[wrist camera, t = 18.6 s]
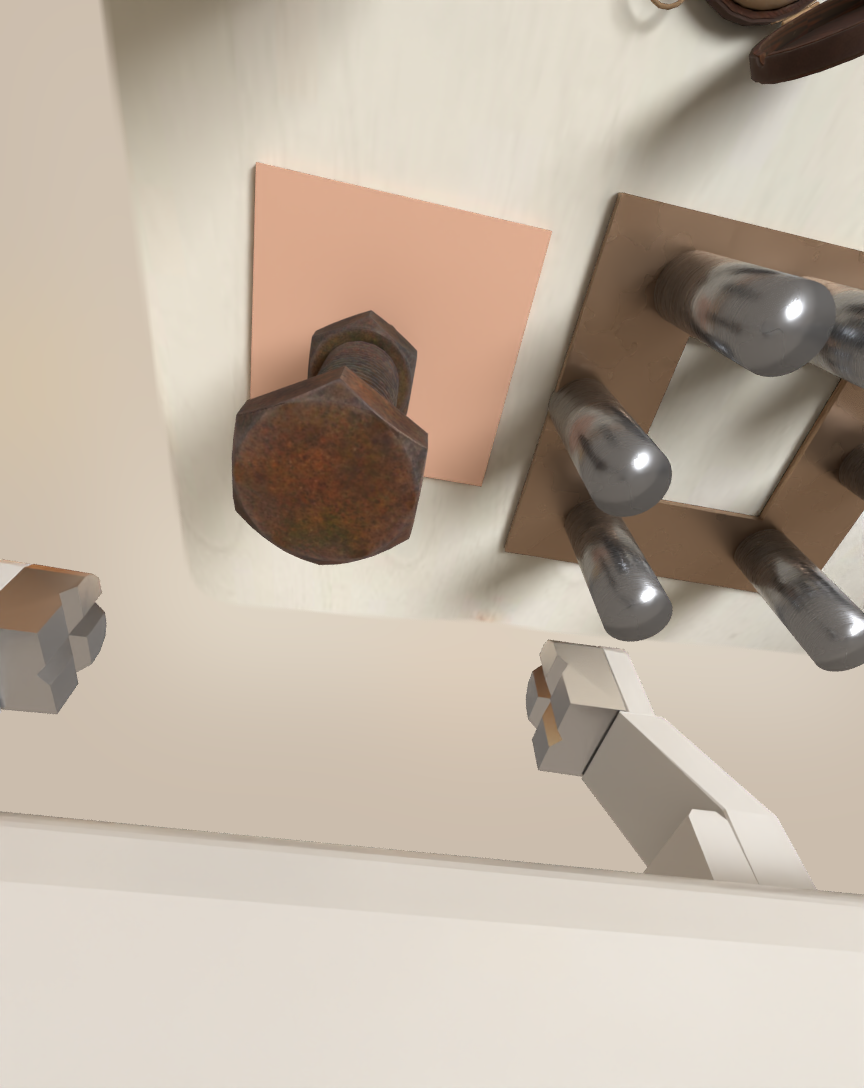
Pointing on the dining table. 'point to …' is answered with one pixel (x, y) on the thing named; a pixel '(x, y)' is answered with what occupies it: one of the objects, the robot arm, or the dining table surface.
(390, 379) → the bolt
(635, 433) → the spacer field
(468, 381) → the pad
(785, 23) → the compass
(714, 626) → the dining table surface
